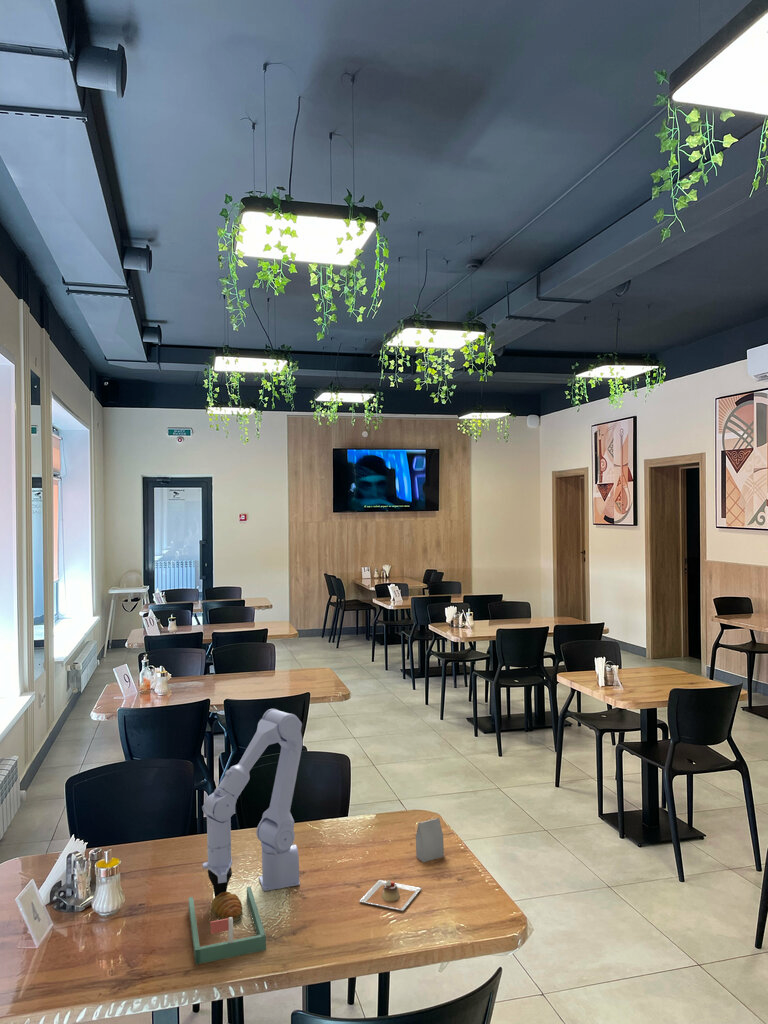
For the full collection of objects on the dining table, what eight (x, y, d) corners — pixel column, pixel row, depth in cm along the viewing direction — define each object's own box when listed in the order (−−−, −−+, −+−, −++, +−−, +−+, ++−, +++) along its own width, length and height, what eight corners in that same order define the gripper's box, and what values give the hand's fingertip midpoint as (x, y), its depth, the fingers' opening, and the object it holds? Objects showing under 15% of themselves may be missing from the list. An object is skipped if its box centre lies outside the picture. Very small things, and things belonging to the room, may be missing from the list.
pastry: (249, 918, 170) (249, 902, 170) (222, 928, 166) (222, 911, 166) (234, 902, 178) (234, 886, 178) (208, 911, 174) (207, 895, 174)
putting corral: (250, 898, 179) (250, 866, 180) (266, 950, 157) (265, 912, 157) (188, 910, 175) (188, 876, 175) (195, 964, 152) (194, 926, 152)
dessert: (422, 892, 181) (421, 873, 182) (403, 915, 170) (402, 894, 171) (379, 883, 186) (378, 865, 187) (358, 905, 176) (358, 885, 176)
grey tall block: (443, 856, 200) (442, 820, 200) (423, 862, 197) (422, 825, 197) (436, 851, 203) (435, 816, 204) (416, 857, 200) (415, 821, 200)
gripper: (200, 835, 183) (201, 889, 182) (204, 858, 169) (205, 917, 169) (228, 830, 185) (229, 884, 185) (235, 853, 171) (236, 911, 171)
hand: (220, 899), depth 177 cm, fingers closed
